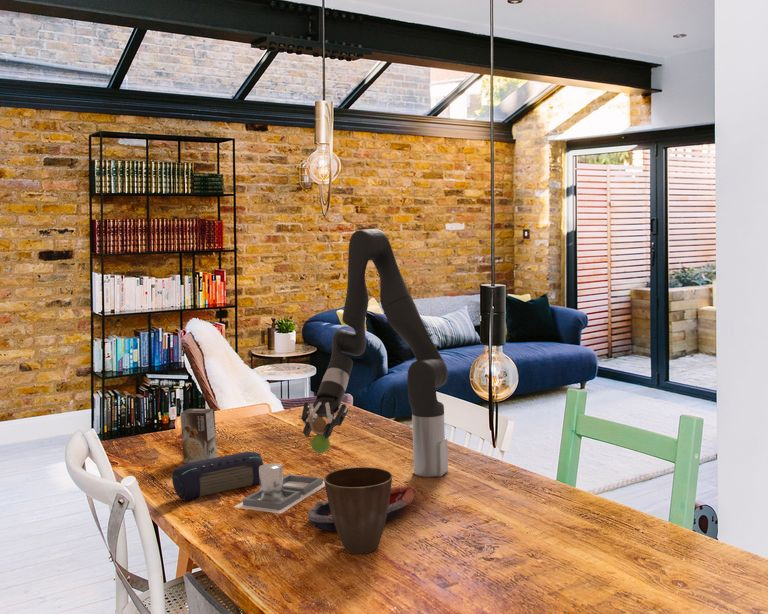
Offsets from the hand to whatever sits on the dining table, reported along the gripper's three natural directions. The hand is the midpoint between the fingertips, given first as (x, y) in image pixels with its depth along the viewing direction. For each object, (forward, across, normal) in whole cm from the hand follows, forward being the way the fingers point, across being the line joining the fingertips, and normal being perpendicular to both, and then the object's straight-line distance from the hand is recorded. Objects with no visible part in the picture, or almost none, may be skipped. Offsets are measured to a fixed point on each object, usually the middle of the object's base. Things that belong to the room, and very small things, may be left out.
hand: (315, 436), depth 218 cm
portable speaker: (+22, -20, -4) cm, 30 cm away
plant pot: (+37, +33, -18) cm, 53 cm away
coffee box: (+5, -46, +12) cm, 47 cm away
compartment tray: (+21, 0, -3) cm, 22 cm away
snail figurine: (+3, 0, +5) cm, 6 cm away
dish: (+25, +26, -6) cm, 37 cm away
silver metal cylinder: (+24, 0, -9) cm, 26 cm away
